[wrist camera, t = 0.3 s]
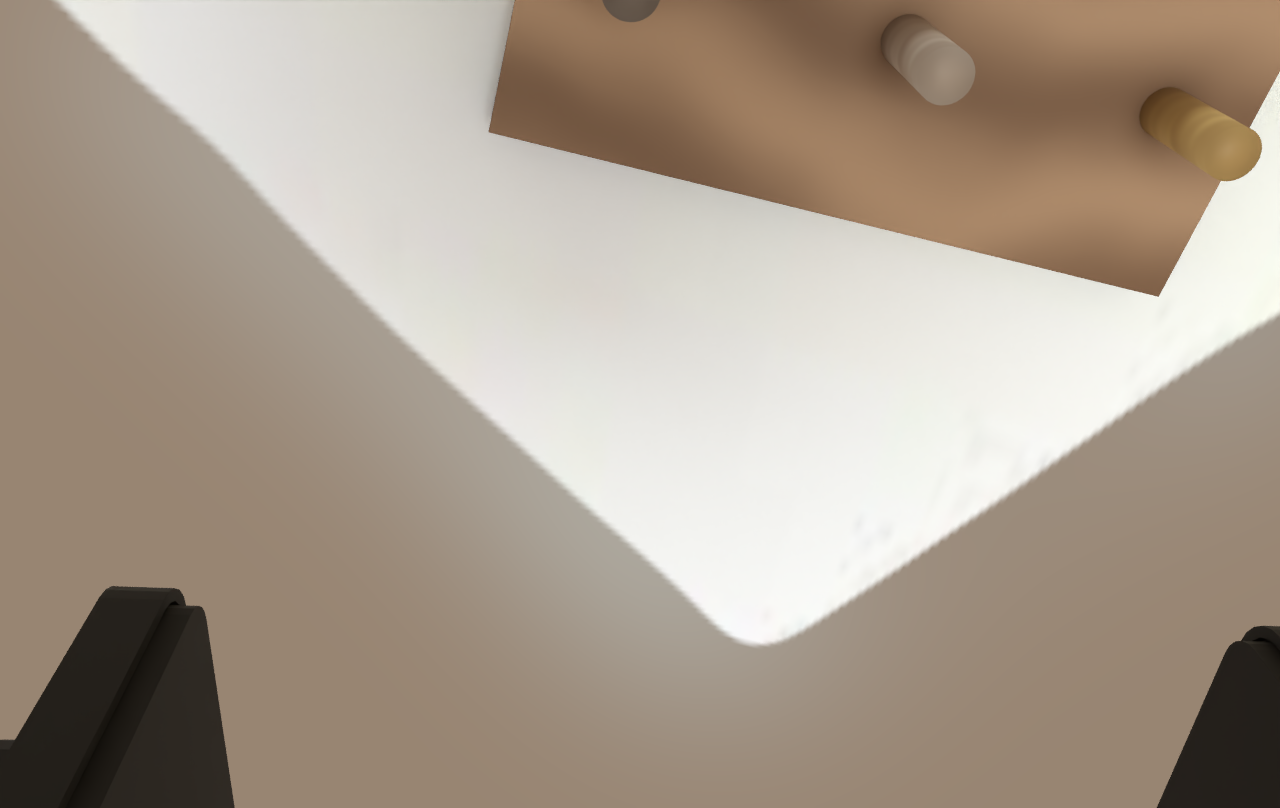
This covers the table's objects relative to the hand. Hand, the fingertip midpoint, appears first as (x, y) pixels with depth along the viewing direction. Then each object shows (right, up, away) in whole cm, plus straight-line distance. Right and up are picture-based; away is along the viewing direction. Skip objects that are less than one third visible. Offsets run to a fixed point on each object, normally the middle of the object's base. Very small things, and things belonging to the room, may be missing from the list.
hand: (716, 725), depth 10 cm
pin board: (+8, +15, +26) cm, 31 cm away
